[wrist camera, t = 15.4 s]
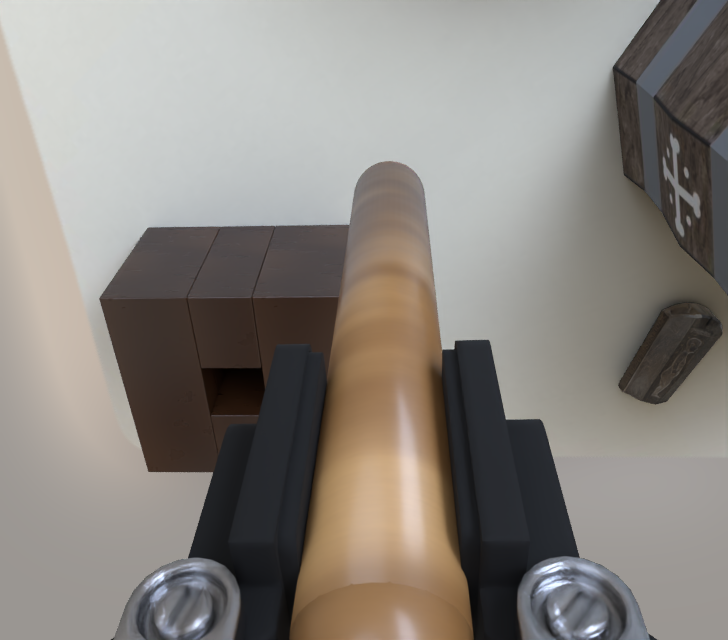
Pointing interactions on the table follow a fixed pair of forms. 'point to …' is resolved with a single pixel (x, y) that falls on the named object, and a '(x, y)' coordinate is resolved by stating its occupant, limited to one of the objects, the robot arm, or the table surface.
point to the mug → (680, 123)
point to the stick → (384, 441)
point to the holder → (215, 327)
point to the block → (670, 352)
